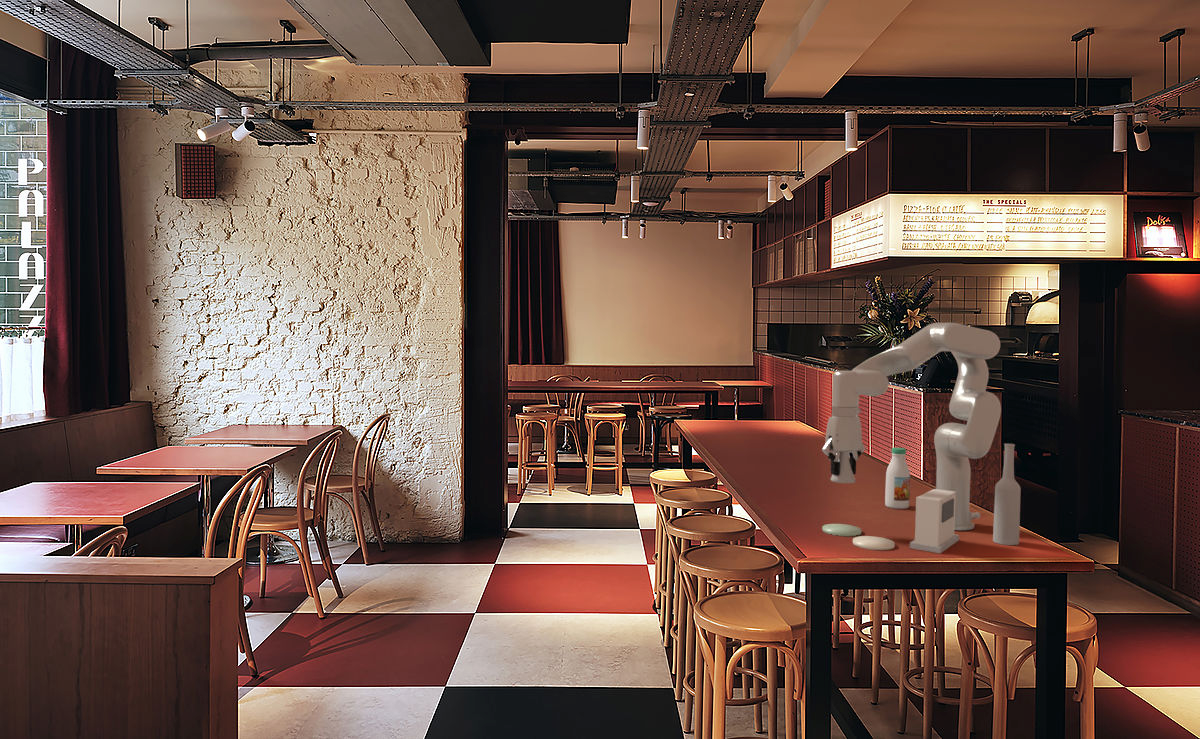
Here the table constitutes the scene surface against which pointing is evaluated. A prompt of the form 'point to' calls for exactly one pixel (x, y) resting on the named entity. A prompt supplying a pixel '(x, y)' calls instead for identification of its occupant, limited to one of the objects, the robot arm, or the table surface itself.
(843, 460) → the flask
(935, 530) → the control unit
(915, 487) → the table surface
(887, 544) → the cream pad
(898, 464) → the milk bottle
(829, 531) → the green pad
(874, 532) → the table surface
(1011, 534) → the bottle
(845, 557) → the table surface
